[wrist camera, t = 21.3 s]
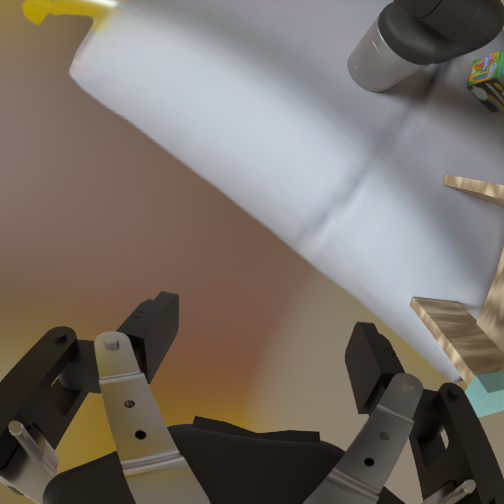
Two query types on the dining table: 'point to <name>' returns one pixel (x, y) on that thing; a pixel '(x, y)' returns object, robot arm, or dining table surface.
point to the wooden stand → (459, 319)
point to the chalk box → (489, 80)
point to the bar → (486, 393)
